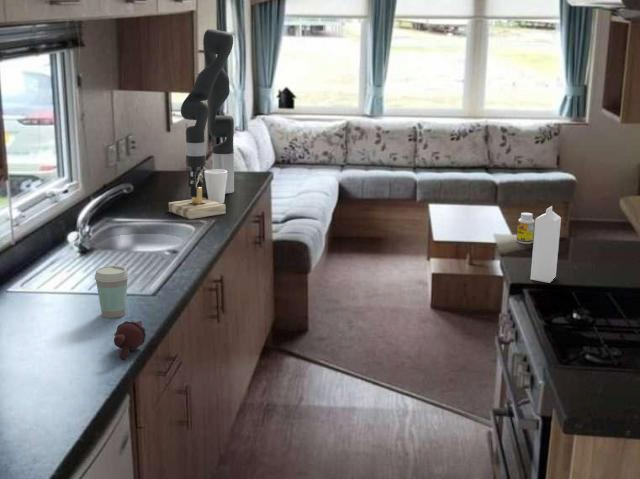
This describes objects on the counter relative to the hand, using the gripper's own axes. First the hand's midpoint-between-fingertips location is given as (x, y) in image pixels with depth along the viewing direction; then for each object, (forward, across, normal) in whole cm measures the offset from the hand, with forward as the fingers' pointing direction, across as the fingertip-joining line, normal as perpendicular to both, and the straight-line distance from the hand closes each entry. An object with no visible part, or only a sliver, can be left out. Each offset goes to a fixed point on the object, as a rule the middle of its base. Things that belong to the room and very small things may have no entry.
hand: (196, 194), depth 328 cm
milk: (+7, -68, -123) cm, 141 cm away
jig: (+7, 0, 0) cm, 7 cm away
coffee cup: (+7, -116, -6) cm, 116 cm away
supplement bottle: (+7, -26, -123) cm, 126 cm away
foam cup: (+7, +19, -4) cm, 21 cm away
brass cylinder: (+7, 0, 0) cm, 7 cm away
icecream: (+7, -138, -17) cm, 139 cm away
